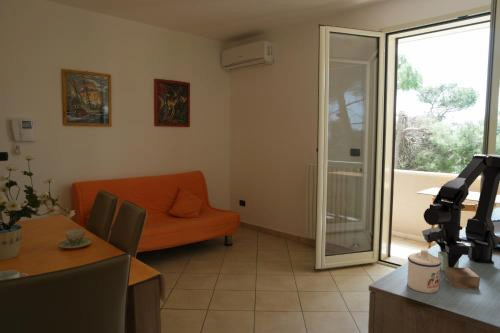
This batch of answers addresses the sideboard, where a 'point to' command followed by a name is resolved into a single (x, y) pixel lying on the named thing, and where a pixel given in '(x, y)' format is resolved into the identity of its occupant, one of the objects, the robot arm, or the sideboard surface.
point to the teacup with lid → (423, 272)
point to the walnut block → (462, 278)
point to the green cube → (445, 260)
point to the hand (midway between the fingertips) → (447, 265)
